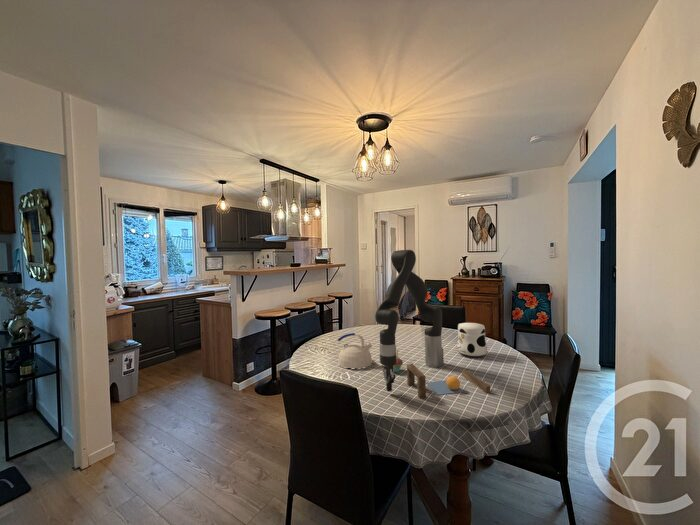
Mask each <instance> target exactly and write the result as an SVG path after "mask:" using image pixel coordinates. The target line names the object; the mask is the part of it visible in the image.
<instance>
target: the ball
mask: <svg viewBox="0 0 700 525" xmlns="http://www.w3.org/2000/svg"><path fill="white" fill-rule="evenodd" d="M446 380H447V381H446V384H447V386H448V388H450V389H451V390H457V389H458V388H459V387H461V386H460V385H461V382H460V379H459V378H458V377H457V376H454V375H451V376H449V377H447V378H446Z"/></svg>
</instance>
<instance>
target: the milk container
mask: <svg viewBox="0 0 700 525" xmlns="http://www.w3.org/2000/svg"><path fill="white" fill-rule="evenodd" d="M457 336H458V338H457V343H456V349H457V351H458V353H459V354H461V355H462V356H466V357H472V358H476V357H477V358H479V357H483V356H486V354H487V352H488V345H487V341H486V328H485V325H484V324H482V323H477V322H462V323H458V324H457Z"/></svg>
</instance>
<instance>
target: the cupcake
mask: <svg viewBox="0 0 700 525" xmlns="http://www.w3.org/2000/svg"><path fill="white" fill-rule="evenodd" d="M398 356H399V349H396V359H397V363H396V364H395V365H393V368H394V372H393V373H399V372H400V370H401V367H402V366H403V365H404V363H403V360H402V359H401V358H400V357H398Z"/></svg>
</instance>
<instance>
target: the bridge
mask: <svg viewBox="0 0 700 525" xmlns="http://www.w3.org/2000/svg"><path fill="white" fill-rule="evenodd" d="M406 376H407V377H406V378H407V379H406V380H407V381H406V382H407V385H408V386H409V387H410V386H411V387H412V386H416V382H417V397H418V399H425V398H427V389H426V388H427V384H426V383H427V381H426V380H427V379H426V375H425V374H424V373H423V372H422V371H421V370H420V369H419V368H418V367H417V366H416V365H415V364H414V363H409V364H406ZM415 378H416V379H417V380H416V379H415ZM415 381H416V382H415Z"/></svg>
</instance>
